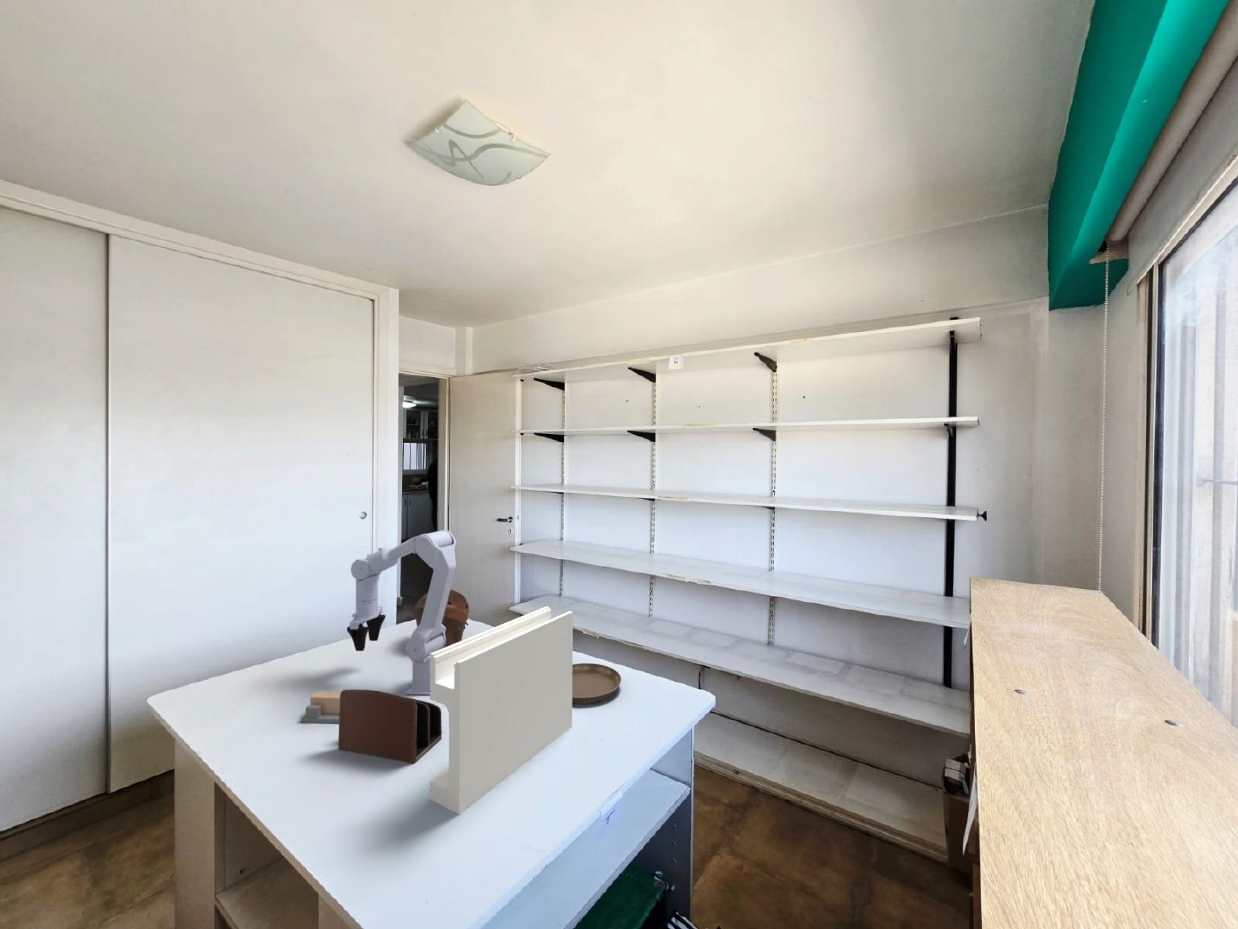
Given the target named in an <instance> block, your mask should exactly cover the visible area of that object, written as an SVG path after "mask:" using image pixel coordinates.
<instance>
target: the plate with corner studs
mask: <svg viewBox="0 0 1238 929" xmlns="http://www.w3.org/2000/svg"><path fill="white" fill-rule="evenodd" d="M300 722H301V723H305V724H306V723H307V724H339V714H321V705H310V704H308V705H307V706H306V707H305V715H303V716H302V717H301V718H300Z"/></svg>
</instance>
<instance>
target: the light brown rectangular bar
mask: <svg viewBox="0 0 1238 929" xmlns="http://www.w3.org/2000/svg"><path fill="white" fill-rule="evenodd" d="M341 692H342V691H317V692H315V693H314V694H313V695H311V696H310V697H309V699H310V701H309V702H310V704H309V705H321V714H339V711H340V694H341Z"/></svg>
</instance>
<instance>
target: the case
mask: <svg viewBox="0 0 1238 929" xmlns="http://www.w3.org/2000/svg"><path fill="white" fill-rule="evenodd" d="M427 595H428V592H427V593H425V594H424V595H423V596H422V597H421V598H420V599H419V600H418V601H417V603H416V604H415V606H414V607H413V611H412V615H411V616H412V619H413V620H415V621H416V622H415V623H416V628H417V627H418V626H419V624H420V623H421V619H422V615H423V611H424V607H425V603H426V599H427ZM469 613H470V606H469V603H468V601H467V599H466V597H465V596H464V595H463V594H462V593H461V592H458V591H456V590H454V589H450V592H449V596H448V600H447V604H446V608H445V612H444V616H443V620H442V625H444V626H445V628H446V631H445V638H446V643H445V645H444V647H443V648H445V647H448V646H450V645H453V644H455V643H458V642H460V641H462V640H463V635H464V631H465V630H466V626H468V627H469V624H468V622H467V621H468V620H469ZM443 648H442V649H443Z"/></svg>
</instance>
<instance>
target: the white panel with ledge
mask: <svg viewBox="0 0 1238 929" xmlns="http://www.w3.org/2000/svg"><path fill="white" fill-rule="evenodd" d="M573 614H574V612H573V611H571V610H569V611H567V612H565V613H562V614H560V615H558V616H556V617H553V618H552V608H550V606H544V607H541V608H539V609H537V610H534V611H532V612H529V613H527V614H524V615H522V616H520V617H516V618H514V619H512V620H510V621H506V622H505V623H502V624H500V625H497V626H495V627H493V628H490V629H487V630H485V631H483V632H479V633H477V634H475V635H473V636H469V637H467V638H465V639H462V641H460V642H458V643H455V644H453V645H450V646H448V647H445V648H443V649H440V650H438V651H435V652H433V653H430V660H431V663H430V676H431V678H430V691H431V693H430V695H429V700H431V701H434V702H436V703H438V704H441V705H443V706H445V708H446V709H447V711H448V768H447V769H446V770H444V771H443V772H442V773H440V774H438V775H437V776H435V777H434V778H432V779H431V780H429V786H430V788H429V793H430V794H429V800H431V801H433V802H435V803H437V804H438V805H440V806H442V807H444V808H446V809H448V810H450V811H452V812H453V813H455V814H457V815H462V813H463V812H465V811H466V810H467V809H469V808H470V807H471V806H472V805H475V803H476V802H478V801H479V800H480V799H481V798H483V797H484V796H486V795H487V794H488V793H490V791H492V790H493V789H494V788H495V787H497V786H498V785H499V784H501V783H502V782H504V781H505V780H506V779H507V778H508V777H509V776H511V775H512V774H514V773H515V772H516V771H517V770H519V769H520V768H521V767H523V766H524V765H525V764H526V763H528V762H529V761H530V760H531V759H533V758H534V757H536V756H537V755H538V754H539V753H540V752H542V751H543V750H544V749H545V748H547V747H548V746H549V745H550V744H552V743H553V742H554V741H555V740H557V739H558V738H559V737H561V736H562V735H564V733H565V732H567V731H569V729H571V728H572V727H573V703H572V664H573V651H574V650H573V645H574V644H573V642H574V641H573V640H574V639H573V638H574V637H573V635H574V634H573V633H574V632H573V631H574V630H573V629H574V623H573V622H574V620H573V619H574V615H573Z"/></svg>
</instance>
